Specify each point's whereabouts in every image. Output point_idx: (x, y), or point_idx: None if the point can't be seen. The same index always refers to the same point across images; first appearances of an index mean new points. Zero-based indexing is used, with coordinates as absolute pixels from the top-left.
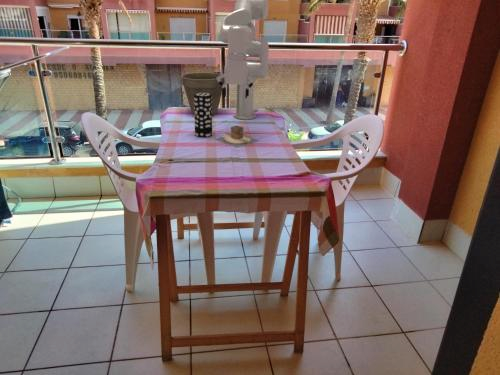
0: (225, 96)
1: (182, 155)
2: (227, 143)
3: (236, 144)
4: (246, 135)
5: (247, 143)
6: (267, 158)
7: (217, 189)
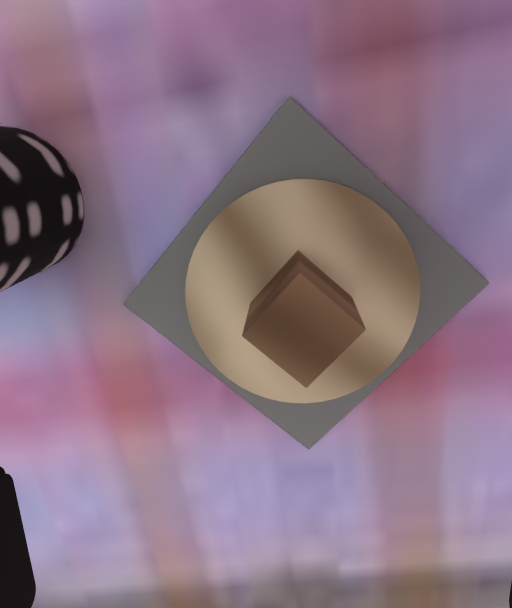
0: (29, 605)
1: None
2: None
3: None
4: (382, 227)
5: None
6: (503, 568)
7: None
